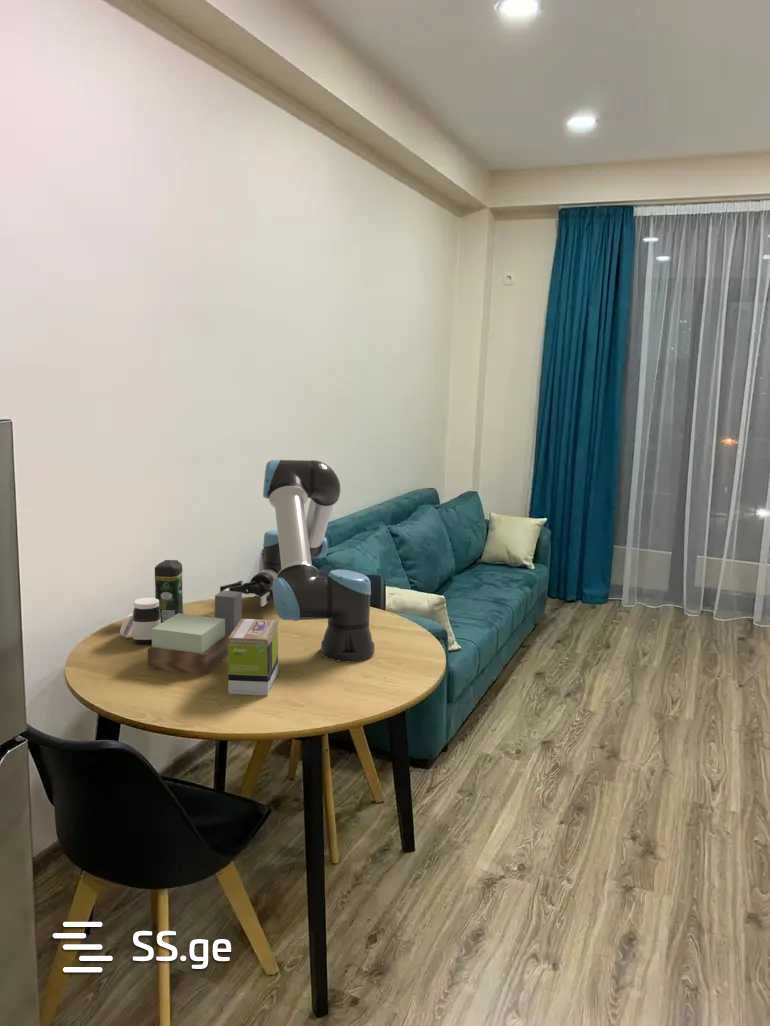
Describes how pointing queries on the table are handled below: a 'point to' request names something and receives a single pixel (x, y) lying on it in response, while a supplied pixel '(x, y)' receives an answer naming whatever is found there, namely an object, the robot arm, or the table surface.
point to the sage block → (188, 633)
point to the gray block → (229, 609)
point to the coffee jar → (169, 588)
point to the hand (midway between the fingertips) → (240, 600)
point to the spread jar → (142, 620)
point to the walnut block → (188, 659)
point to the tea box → (253, 657)
